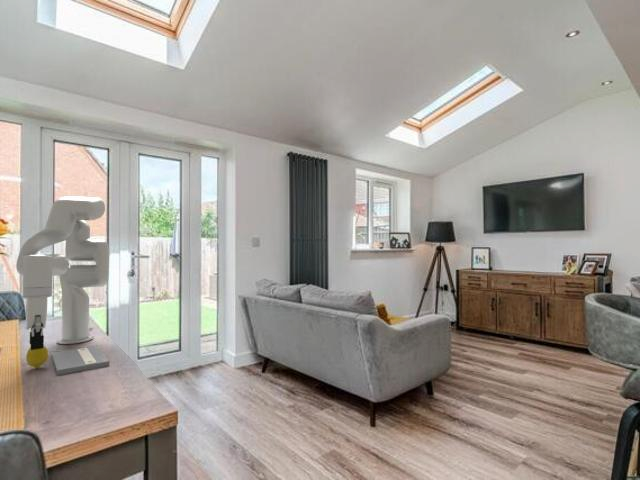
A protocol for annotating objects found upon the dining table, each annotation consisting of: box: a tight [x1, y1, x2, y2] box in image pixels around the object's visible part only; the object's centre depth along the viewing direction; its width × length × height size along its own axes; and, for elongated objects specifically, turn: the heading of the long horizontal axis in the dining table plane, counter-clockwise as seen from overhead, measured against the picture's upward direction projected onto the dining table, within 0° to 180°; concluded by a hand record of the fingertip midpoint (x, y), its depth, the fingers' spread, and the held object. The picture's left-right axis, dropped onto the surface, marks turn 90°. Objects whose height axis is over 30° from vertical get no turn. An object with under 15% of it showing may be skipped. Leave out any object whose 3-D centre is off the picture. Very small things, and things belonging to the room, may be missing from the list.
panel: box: [51, 345, 110, 376], centre depth 125 cm, size 24×14×2 cm, turn 40°
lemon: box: [25, 345, 49, 369], centre depth 118 cm, size 6×6×8 cm
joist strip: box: [76, 347, 96, 364], centre depth 126 cm, size 22×3×1 cm, turn 40°
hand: (36, 346), depth 117 cm, fingers open, 9 cm apart
